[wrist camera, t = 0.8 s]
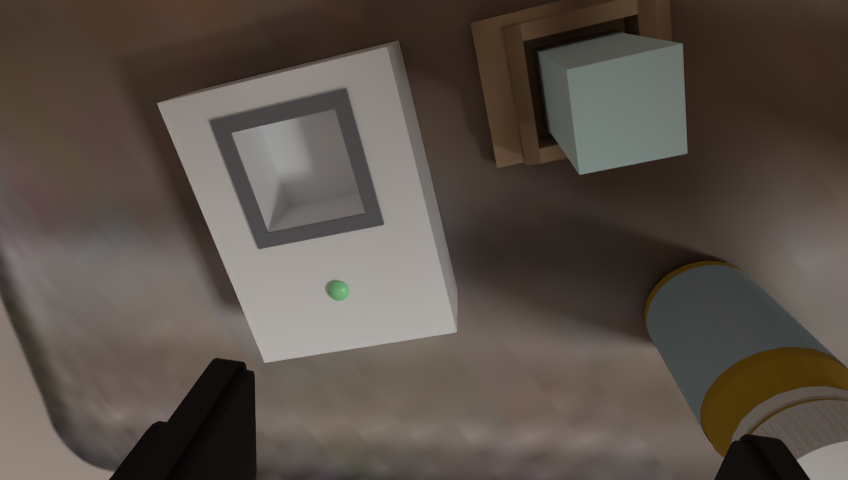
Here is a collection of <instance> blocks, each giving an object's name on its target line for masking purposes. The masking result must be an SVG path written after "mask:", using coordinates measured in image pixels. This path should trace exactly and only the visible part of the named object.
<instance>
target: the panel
mask: <svg viewBox="0 0 848 480" xmlns="http://www.w3.org/2000/svg"><path fill="white" fill-rule="evenodd" d="M157 105H158V107H159V110H160V112H161V114H162V117H163V119H164V122H165V124H166V126H167V129H168V131H169V134H170V136H171V138H172V141H173V143H174V146H175V148H176V151H177V153H178V155H179V158H180V160H181V163H182V165H183V167H184V170H185V172H186V175H187V177H188V179H189V182H190V184H191V187H192V189H193V191H194V194H195V196H196V199H197V201H198V203H199V206H200V208H201V211H202V213H203V215H204V218H205V220H206V223H207V225H208V227H209V230H210V232H211V235H212V237H213V239H214V242H215V244H216V247H217V249H218V251H219V254H220V256H221V259H222V261H223V264H224V266H225V268H226V271H227V273H228V276H229V278H230V280H231V283H232V285H233V288H234V290H235V292H236V295H237V297H238V300H239V302H240V304H241V307H242V309H243V312H244V314H245V316H246V319H247V321H248V324H249V326H250V328H251V331H252V333H253V336H254V338H255V340H256V343H257V345H258V348H259V350H260V352H261V355H262V357H263V360H264V362H265V363H266V362H272V361H279V360H285V359H291V358H298V357H304V356H310V355H317V354H323V353H329V352H336V351H342V350H348V349H354V348H361V347H367V346H373V345H380V344H386V343H392V342H399V341H405V340H411V339H417V338H424V337H430V336H436V335H443V334H449V333H455V332H457V300H458V290H457V285H456V281H455V277H454V273H453V268H452V264H451V260H450V256H449V251H448V247H447V243H446V239H445V234H444V230H443V226H442V222H441V217H440V213H439V209H438V205H437V200H436V196H435V192H434V188H433V183H432V179H431V175H430V171H429V166H428V162H427V158H426V154H425V149H424V145H423V141H422V137H421V132H420V128H419V124H418V120H417V115H416V111H415V107H414V103H413V98H412V94H411V90H410V86H409V81H408V77H407V73H406V69H405V64H404V60H403V56H402V52H401V47H400V43H399V40H398V41H394V42H390V43H386V44H382V45H378V46H374V47H370V48H365V49H361V50H357V51H353V52H349V53H345V54H341V55H337V56H333V57H329V58H325V59H321V60H317V61H313V62H309V63H305V64H301V65H297V66H293V67H288V68H284V69H280V70H276V71H272V72H268V73H264V74H260V75H256V76H252V77H248V78H244V79H240V80H236V81H232V82H228V83H224V84H220V85H216V86H212V87H207V88H203V89H200V90H197V91H194V92H190V93H187V94H184V95H181V96H178V97H175V98H172V99H168V100H165V101H162V102H159V103H157Z"/></svg>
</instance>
